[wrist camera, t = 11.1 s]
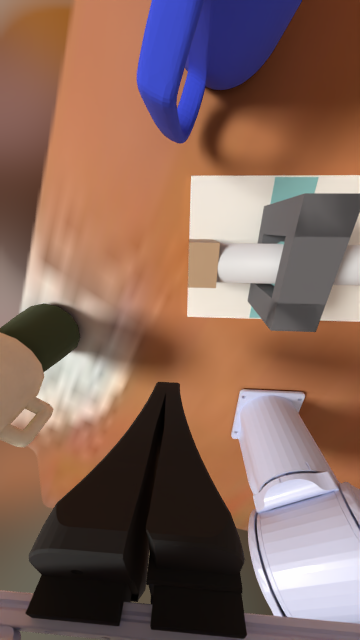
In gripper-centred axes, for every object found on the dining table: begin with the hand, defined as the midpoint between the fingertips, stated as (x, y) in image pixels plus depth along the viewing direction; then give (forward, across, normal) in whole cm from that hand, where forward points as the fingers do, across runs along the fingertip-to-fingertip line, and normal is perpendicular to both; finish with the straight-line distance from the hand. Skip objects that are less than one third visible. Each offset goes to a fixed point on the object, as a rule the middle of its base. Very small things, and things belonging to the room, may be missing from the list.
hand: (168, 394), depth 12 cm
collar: (+10, -8, -7) cm, 15 cm away
